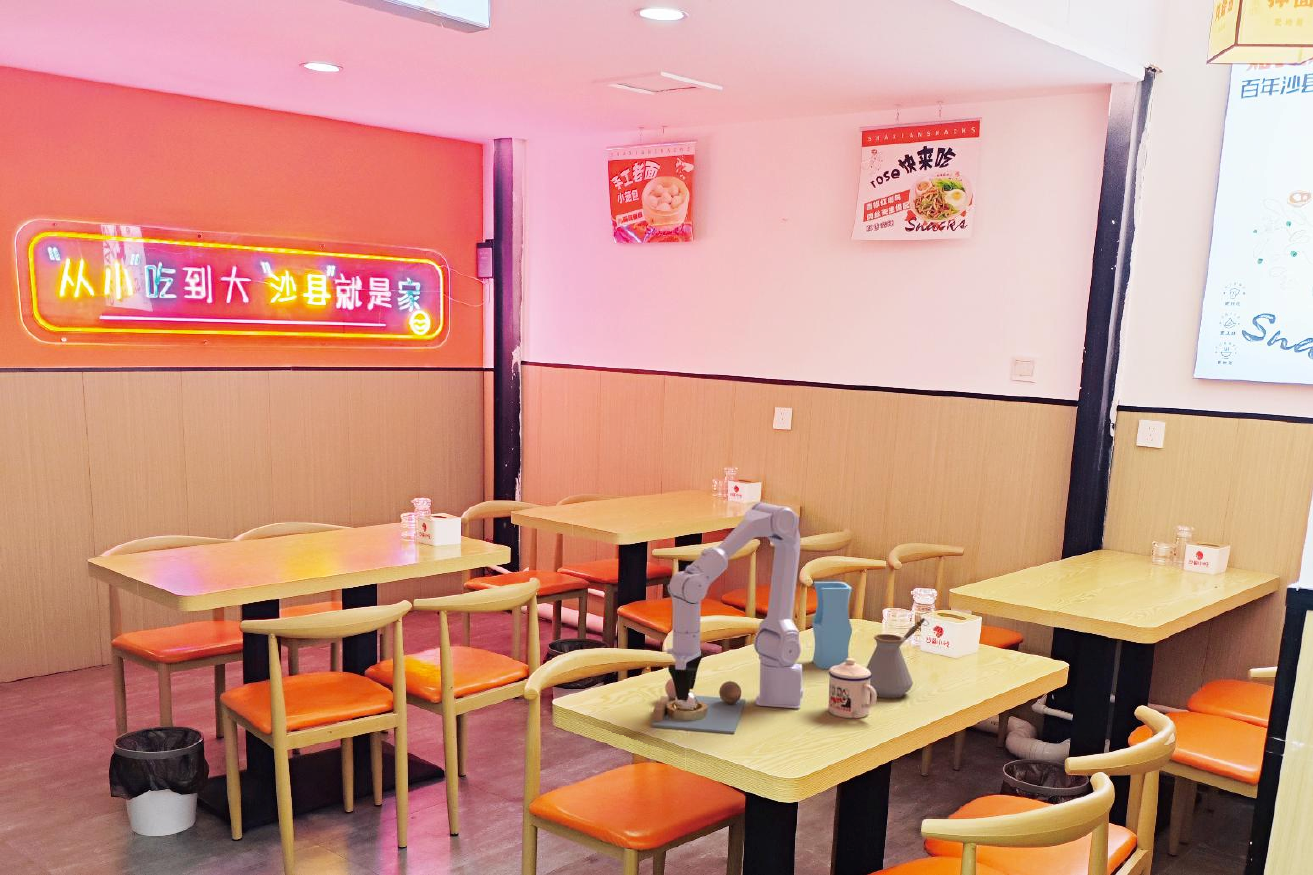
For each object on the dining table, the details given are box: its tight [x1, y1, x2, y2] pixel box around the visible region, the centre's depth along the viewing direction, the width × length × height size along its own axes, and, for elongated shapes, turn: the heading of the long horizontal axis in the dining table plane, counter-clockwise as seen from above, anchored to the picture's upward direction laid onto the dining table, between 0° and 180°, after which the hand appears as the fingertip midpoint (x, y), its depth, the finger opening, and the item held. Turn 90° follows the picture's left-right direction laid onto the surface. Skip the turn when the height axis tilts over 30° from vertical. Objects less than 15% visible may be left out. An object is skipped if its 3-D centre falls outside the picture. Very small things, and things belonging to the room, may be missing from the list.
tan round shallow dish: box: [666, 700, 707, 721], centre depth 226 cm, size 8×8×2 cm
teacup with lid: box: [828, 657, 878, 719], centre depth 229 cm, size 12×9×12 cm
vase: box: [811, 581, 853, 670], centre depth 266 cm, size 8×8×20 cm
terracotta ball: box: [664, 677, 676, 699], centre depth 236 cm, size 5×5×5 cm
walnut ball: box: [718, 680, 742, 704], centre depth 234 cm, size 5×5×5 cm
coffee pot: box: [865, 617, 930, 699], centre depth 248 cm, size 21×12×15 cm, turn 135°
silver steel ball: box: [675, 691, 698, 711], centre depth 225 cm, size 5×5×5 cm
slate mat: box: [650, 695, 746, 735], centre depth 228 cm, size 17×21×3 cm
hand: (685, 693), depth 224 cm, fingers open, 7 cm apart
